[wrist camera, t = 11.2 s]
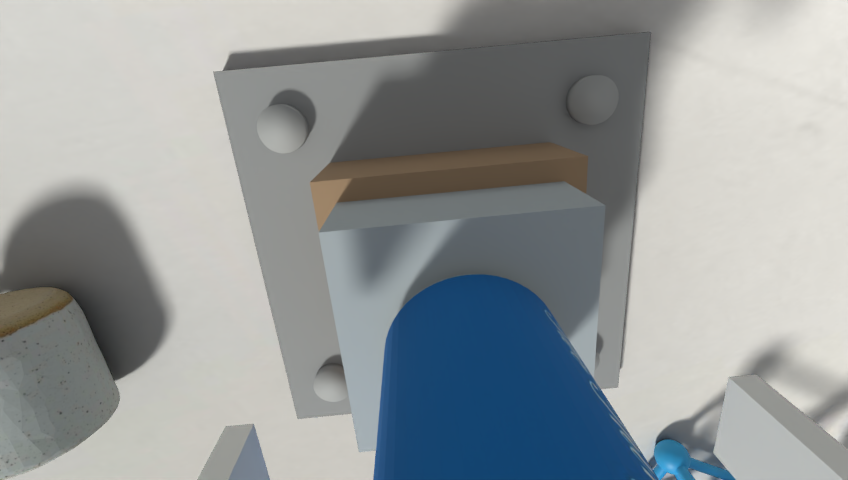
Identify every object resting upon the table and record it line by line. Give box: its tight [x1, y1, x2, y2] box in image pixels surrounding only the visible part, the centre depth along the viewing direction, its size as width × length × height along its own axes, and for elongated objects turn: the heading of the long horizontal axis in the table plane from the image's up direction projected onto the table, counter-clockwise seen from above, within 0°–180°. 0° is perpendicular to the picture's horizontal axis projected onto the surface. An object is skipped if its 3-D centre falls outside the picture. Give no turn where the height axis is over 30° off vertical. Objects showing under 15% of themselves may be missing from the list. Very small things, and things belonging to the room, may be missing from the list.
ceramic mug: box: [0, 287, 120, 480], centre depth 23 cm, size 11×8×8 cm
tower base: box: [213, 32, 651, 452], centre depth 21 cm, size 22×22×10 cm
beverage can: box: [374, 274, 659, 480], centre depth 10 cm, size 6×6×12 cm
